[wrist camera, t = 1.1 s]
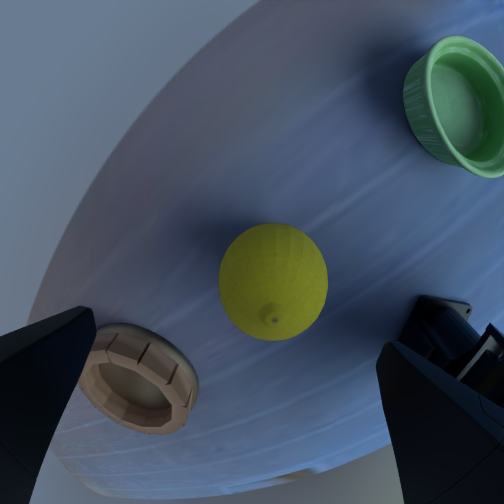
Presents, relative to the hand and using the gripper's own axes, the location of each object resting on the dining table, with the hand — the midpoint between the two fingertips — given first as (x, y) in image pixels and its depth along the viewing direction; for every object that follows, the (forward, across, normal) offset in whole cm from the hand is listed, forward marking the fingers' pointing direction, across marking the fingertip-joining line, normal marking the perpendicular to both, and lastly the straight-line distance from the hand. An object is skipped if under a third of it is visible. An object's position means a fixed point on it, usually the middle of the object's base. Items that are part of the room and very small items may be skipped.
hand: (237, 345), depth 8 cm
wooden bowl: (+11, +8, +14) cm, 20 cm away
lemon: (+11, -2, +1) cm, 11 cm away
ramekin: (+11, -13, -11) cm, 20 cm away
